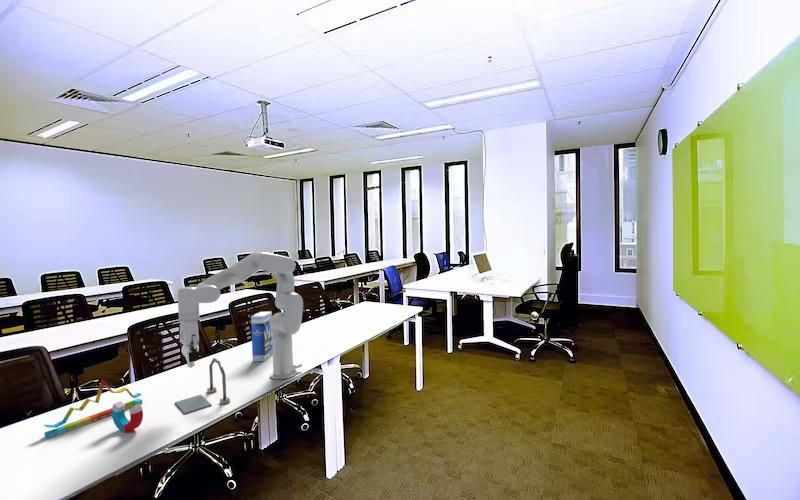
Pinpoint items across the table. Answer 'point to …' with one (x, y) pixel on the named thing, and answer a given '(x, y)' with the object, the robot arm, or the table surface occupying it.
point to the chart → (93, 417)
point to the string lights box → (261, 336)
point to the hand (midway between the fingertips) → (190, 358)
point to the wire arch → (213, 389)
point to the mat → (192, 404)
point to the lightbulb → (186, 353)
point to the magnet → (121, 419)
